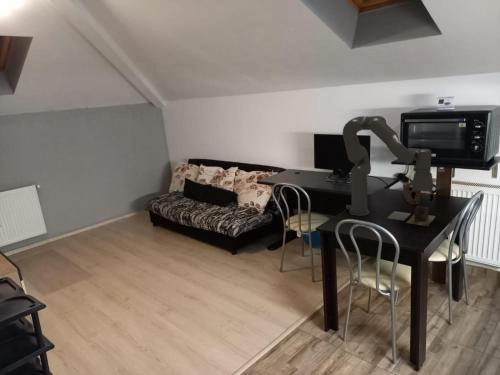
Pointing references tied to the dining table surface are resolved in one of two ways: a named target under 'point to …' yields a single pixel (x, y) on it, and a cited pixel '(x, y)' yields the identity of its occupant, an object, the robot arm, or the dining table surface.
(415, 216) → the walnut block
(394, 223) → the dining table surface
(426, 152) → the robot arm
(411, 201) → the stack of blocks
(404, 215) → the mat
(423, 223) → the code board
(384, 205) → the dining table surface
